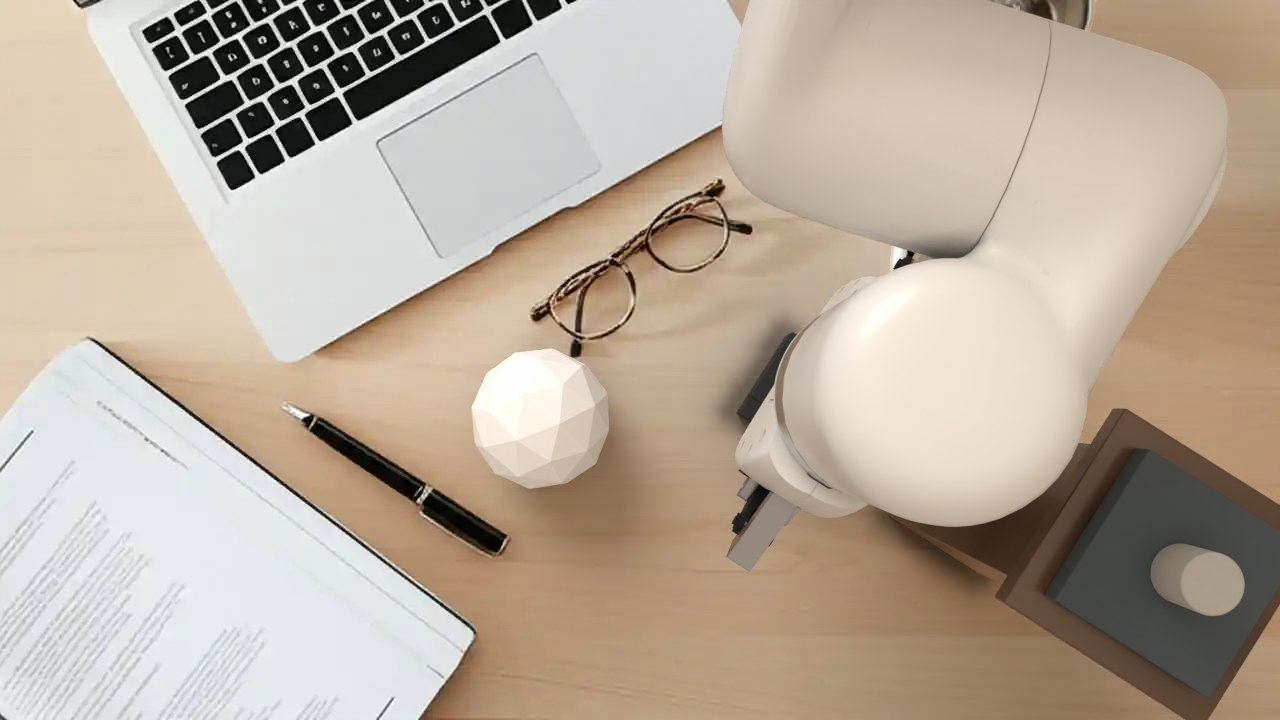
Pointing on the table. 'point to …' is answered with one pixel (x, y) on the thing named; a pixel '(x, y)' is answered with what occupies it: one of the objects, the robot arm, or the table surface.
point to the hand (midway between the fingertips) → (817, 403)
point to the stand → (1050, 527)
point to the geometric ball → (540, 418)
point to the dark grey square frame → (764, 382)
